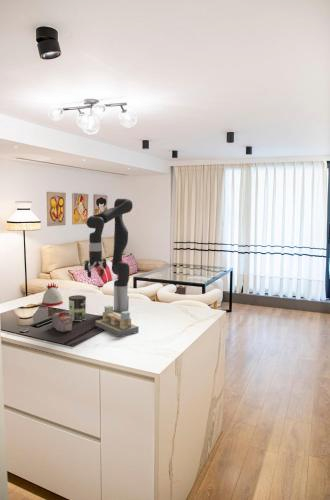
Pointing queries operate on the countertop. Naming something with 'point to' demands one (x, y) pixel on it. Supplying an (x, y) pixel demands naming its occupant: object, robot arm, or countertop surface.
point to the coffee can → (77, 307)
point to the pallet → (116, 320)
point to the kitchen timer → (52, 296)
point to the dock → (116, 328)
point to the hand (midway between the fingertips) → (95, 276)
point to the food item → (61, 322)
